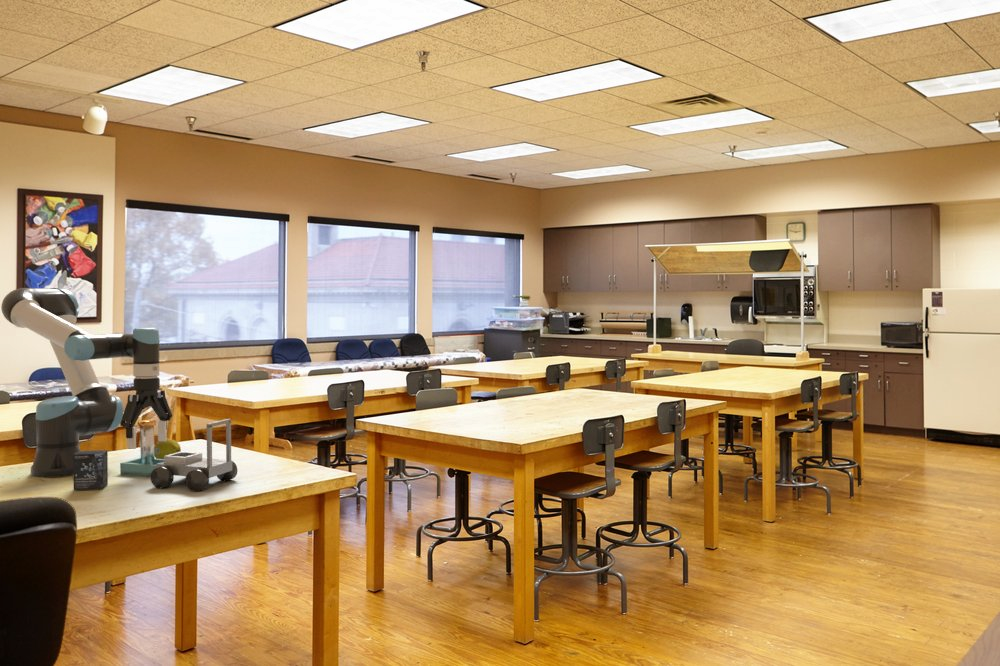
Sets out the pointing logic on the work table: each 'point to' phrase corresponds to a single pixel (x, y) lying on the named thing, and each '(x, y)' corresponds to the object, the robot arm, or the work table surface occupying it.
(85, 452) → the box
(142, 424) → the clear tube with cap
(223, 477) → the trolley
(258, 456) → the work table surface
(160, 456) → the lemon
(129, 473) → the tray
